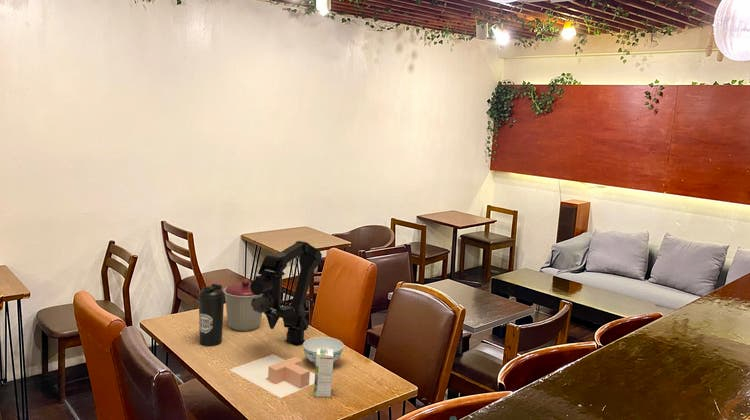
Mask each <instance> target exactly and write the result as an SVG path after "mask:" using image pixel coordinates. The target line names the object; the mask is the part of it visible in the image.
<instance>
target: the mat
mask: <svg viewBox="0 0 750 420" xmlns="http://www.w3.org/2000/svg"><path fill="white" fill-rule="evenodd" d="M285 360H286V359H284V358H281V357H279V356H278V355H275V354H274V353H273V354H270V355H267V356H265V357H262V358H259V359H256V360H253V361H250V362H247V363H244V364H242V365H241V364H240V365H239V366H236V367H233V368H230V369H229V372H233V374H236V375H238V376H239V377H240V378H243V379H245V380H247V382H248V381H249V382H251V383H252V384H254V385H256V386H258V387H260V388H262V389H263V390H265V391H267V392H269V393H271V394H272V395H274V396H276V397H277V398H279V399H282V398H285V397H286V396H289V395H292V394H294V393H296V392H299V391H301V390H303V389H305V388H308V387H310V386H313V385H314V381H315V373H314V372H311V371H310V377H309V385H308V386H305V387H303V388H301V389H300V388H298V387H296V386H294V385H292V384H290V383H288V382H286V381H282V382H280V383H277V384H274V383H272V382H271V381H269V380H268V366H271V365H274V364H277V363H279V362H282V361H285Z"/></svg>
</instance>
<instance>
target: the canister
mask: <svg viewBox="0 0 750 420" xmlns="http://www.w3.org/2000/svg"><path fill="white" fill-rule="evenodd" d="M250 285H251V282H250V279H248V278H243V279H242V280H241V281H240V282H236V283H235V282H234V283H232V284H229V285H227V286H225V287H224V288H223V289H222V290H223V292H224V293H225V300H224V301H225V309H226V317H227V318H226V319H227V323H228V326H229V327H230V328H231V329H232V330H235V331H240V332H242V331H243V332H246V331H253V330H255V329H257V328H258V327H259V326H260V325H261V322H262V317H263V312H262V313H258V312H257V311H254V310H253V306H251V301H252V300H253V298H257V297H261V296H262V294H261V295H254V294H253V293H252V291H251V289H250Z"/></svg>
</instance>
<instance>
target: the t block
mask: <svg viewBox="0 0 750 420" xmlns="http://www.w3.org/2000/svg"><path fill="white" fill-rule="evenodd" d="M284 360H285V361H282V362H279V363H277V364H274V365H271V366H268V380H269V381H271V382H272V383H274V384H277V383H280V382H282V381H286V382H288V383H290V384H292V385H294V386H296V387H298V388H300V389H301V388H303V387H305V386H308V385H309V377H310V372H311V371H310V370H309V369H307V368H304V367H303V359H301V358H298V357H296V356H293V357H291V358H288V359H284ZM308 387H309V386H308ZM303 389H304V388H303ZM301 390H302V389H301Z"/></svg>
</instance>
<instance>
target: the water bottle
mask: <svg viewBox="0 0 750 420" xmlns="http://www.w3.org/2000/svg"><path fill="white" fill-rule="evenodd" d="M222 286H223V285H221V284H217V283H211V285H208V286H202V287H201V290H200V291H199V293H198V294H197V301H198V324H199V330H198V331H199V332H198V333H199V337H198V338H199V345H201V346H203V347H216V346H219V345H221V344H222V341H223V328H224V327H223V323H224V308H225V307H224V306H225V305H224V304H225V301H226V300H225V293H224V292H223V290H224V289H223V287H222Z"/></svg>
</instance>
